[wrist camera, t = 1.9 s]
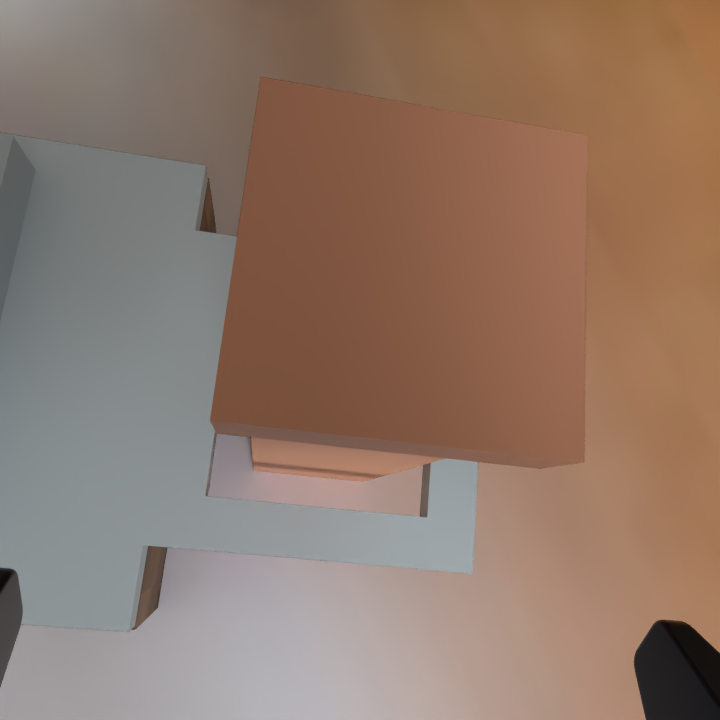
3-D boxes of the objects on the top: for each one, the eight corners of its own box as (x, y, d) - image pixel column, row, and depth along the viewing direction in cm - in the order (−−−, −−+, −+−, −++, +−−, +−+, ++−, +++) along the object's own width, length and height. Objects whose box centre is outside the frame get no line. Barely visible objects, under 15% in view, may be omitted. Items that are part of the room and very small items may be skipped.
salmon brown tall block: (372, 493, 21) (583, 462, 7) (240, 480, 20) (210, 420, 7) (383, 366, 22) (587, 135, 8) (258, 350, 21) (260, 76, 8)
